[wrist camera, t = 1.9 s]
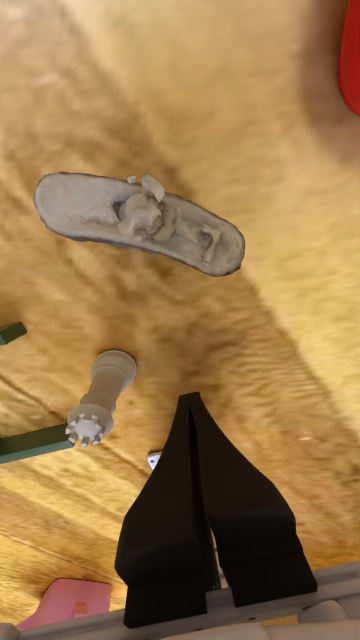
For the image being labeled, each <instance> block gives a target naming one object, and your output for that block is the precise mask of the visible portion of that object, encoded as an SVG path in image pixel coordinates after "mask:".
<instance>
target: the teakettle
mask: <svg viewBox="0 0 360 640" xmlns="http://www.w3.org/2000/svg"><path fill="white" fill-rule="evenodd" d="M110 597H111V589H110V585H109V584H106V583H99V582H92V581H83V580H74V579H57V580H56V581H54V582H53V583H52V585H51V586H50V587H49V588H48V590H47V591H46V593H45V595H44V597H43V598H42V600H41V602H40V604H39V606H38V608H37V610H36V612H35V613H34V614H33V615H31V616H30V617H28V618H27V619H25V620H24V621H22V622H21V623H19V624H18V625H16V626H17V627H18V628H19V630H22V629H27V628H32V627H37V626H42V625H46V624H51V623H56V622H61V621H66V620H71V619H76V618H81V617H86V616H91V615H96V614H100V613H105V612H109V607H110Z"/></svg>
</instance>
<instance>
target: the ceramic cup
mask: <svg viewBox="0 0 360 640" xmlns="http://www.w3.org/2000/svg"><path fill="white" fill-rule="evenodd" d="M338 80H339V87H340V91H341V95H342V97H343V99H344V101H345V103H346V105H347V106H348V107H349V108H350V110H351V111H353V112H354V113H356V114H357V115H360V0H349V4H348V9H347V14H346V19H345V24H344V29H343V34H342V42H341V51H340V56H339V64H338Z"/></svg>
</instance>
